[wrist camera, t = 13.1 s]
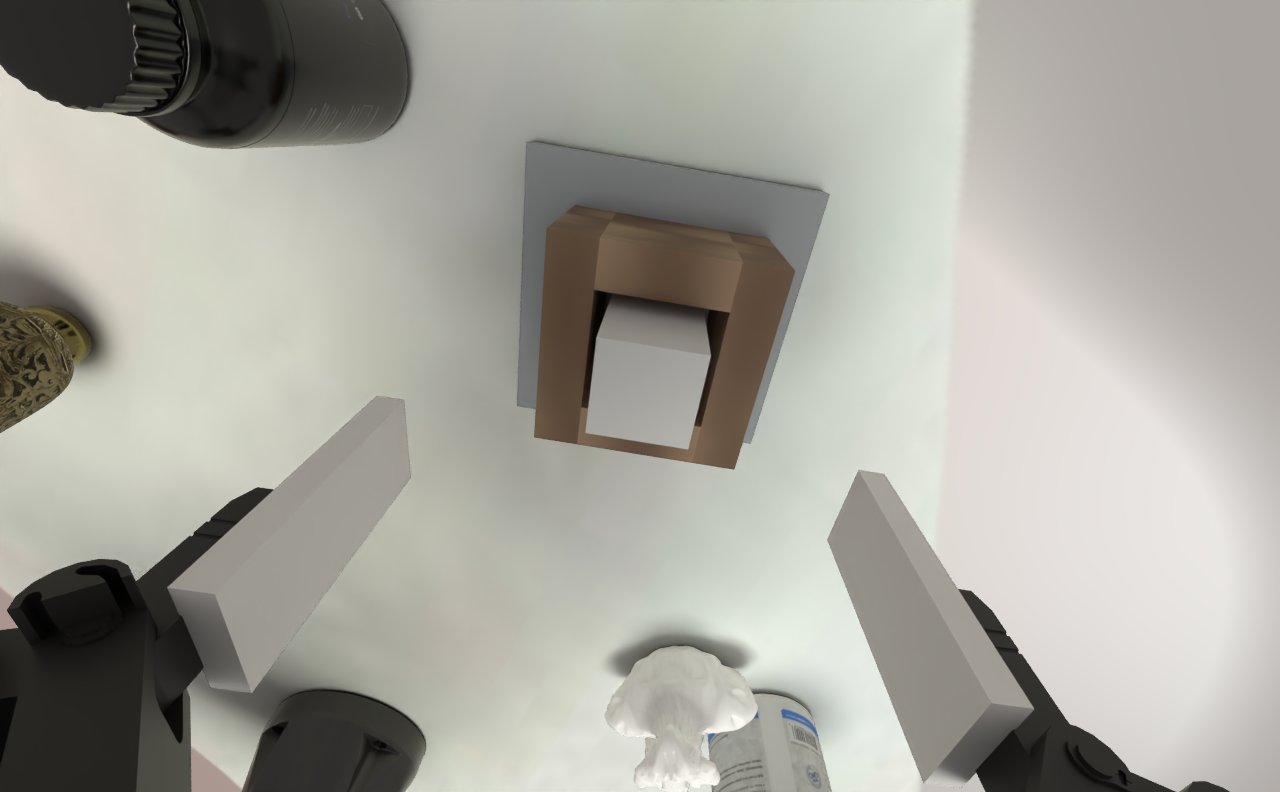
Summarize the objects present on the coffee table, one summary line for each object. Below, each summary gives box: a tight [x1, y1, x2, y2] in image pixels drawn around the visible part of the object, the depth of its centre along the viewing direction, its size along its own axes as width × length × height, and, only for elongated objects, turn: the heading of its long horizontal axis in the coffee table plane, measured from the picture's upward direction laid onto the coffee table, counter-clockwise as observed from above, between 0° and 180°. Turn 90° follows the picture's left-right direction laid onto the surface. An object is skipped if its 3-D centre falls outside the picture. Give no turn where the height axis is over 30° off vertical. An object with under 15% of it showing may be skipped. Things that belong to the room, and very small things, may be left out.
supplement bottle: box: [0, 0, 408, 149], centre depth 17 cm, size 7×7×12 cm
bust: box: [605, 646, 758, 792], centre depth 37 cm, size 12×8×11 cm
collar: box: [534, 205, 795, 469], centre depth 23 cm, size 9×9×6 cm
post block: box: [517, 141, 830, 449], centre depth 23 cm, size 14×14×10 cm
